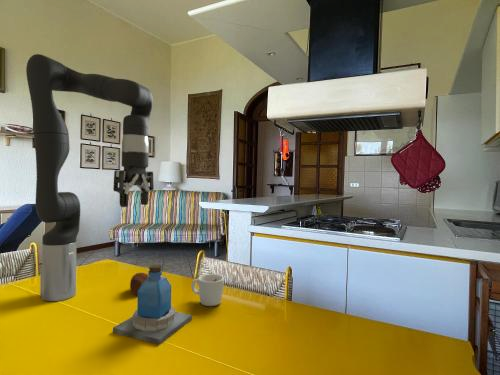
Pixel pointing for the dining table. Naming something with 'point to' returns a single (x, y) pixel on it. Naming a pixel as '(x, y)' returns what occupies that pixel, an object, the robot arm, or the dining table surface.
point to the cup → (209, 289)
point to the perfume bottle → (154, 294)
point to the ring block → (153, 326)
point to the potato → (137, 281)
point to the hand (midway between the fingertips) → (134, 205)
